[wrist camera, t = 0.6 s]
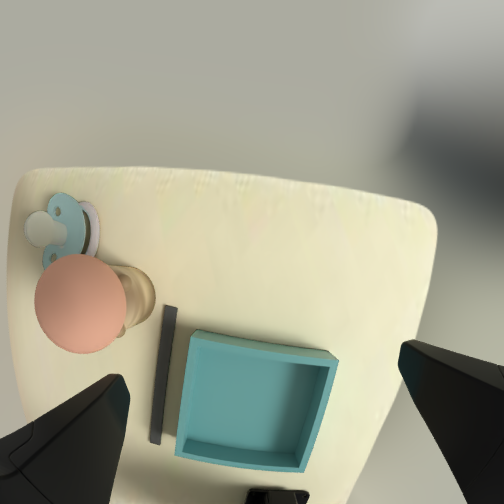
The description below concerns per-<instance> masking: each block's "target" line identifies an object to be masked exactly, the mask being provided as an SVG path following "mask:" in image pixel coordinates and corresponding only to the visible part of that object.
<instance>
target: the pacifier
mask: <svg viewBox="0 0 504 504" xmlns="http://www.w3.org/2000/svg"><path fill="white" fill-rule="evenodd" d="M57 207H59V208H60V210H61V214H60V216H57V215H56V212H55V211H56V208H57ZM82 211H85V212H86V213H87V215H88V217H89V220H90V226H91V237H90V243H89V246H88V249H87V252H86V254H85V255H89V256H92V257H94V256H95V254H96V251H97V248H98V244H99V237H100V225H99V218H98V215H97V212H96V210H95V208H94V206H93V205H92V204H91V203H89V202H86V201H83V202H80V203H78V202H77V201H76V200H75V199H74V198H72V197H71V196H69V195H67V194H65V193H57V194H55V195H54V196H53V197H52V198H51V199H50V201H49V204H48V209H47V212H45V211H36V212H33V213H32V214H30V215H29V216H28V218H27V219H26V221H25V224H24V234H25V237H26V239H27V240H28V242H29V243H30V244H31V245H33V246H35V247H39V248H42V247H46V248H45V251H44V254H43V267H44V270H45V269H46V268H47V267H48V266H49V265H50V264H51V263H53V262H51V257H52V255H53V254H56V255H57V258H56V260H57V259H59V258H61V257H64V256H67V255H71V254H81V252H82V249H83V245H84V241H85V230H86V228H85V219H84V215H83V212H82ZM56 260H55V261H56Z"/></svg>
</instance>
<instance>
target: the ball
mask: <svg viewBox="0 0 504 504" xmlns="http://www.w3.org/2000/svg"><path fill="white" fill-rule="evenodd" d="M35 312H36V316H37V319H38V322H39V324H40V326H41V328H42V330H43V331H44V333H45V334H46V336H47V337H48V338H49V339H50V340H51V341H52V342H53V343H55V344H56V345H57V346H59V347H60V348H62V349H64V350H66V351H69V352H73V353H78V354H88V353H94V352H96V351H99V350H102V349H103V348H105V347H107V346H108V345H109V344H110V343H112V342H113V341H114V339H115V338H116V337H117V336H118V334H119V333H120V331H121V329H122V327H123V324H124V321H125V317H126V296H125V292H124V289H123V286H122V284H121V282H120V280H119V278H118V277H117V275H116V274H115V273H114V271H113V270H112V269H111V268H110V267H109V266H108V265H107V264H105V263H104V262H103V261H101V260H99V259H97V258H95V257H92V256H89V255H85V254H71V255H67V256H64V257H61V258H59V259H57V260H56V261H54V262H53V263H51V264H50V265H49V266H48V267H47V268H46V269H45V271H44V272H43V274H42V275H41V277H40V279H39V281H38V284H37V287H36V291H35Z"/></svg>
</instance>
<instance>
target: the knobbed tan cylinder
mask: <svg viewBox="0 0 504 504" xmlns="http://www.w3.org/2000/svg"><path fill="white" fill-rule="evenodd" d="M108 266H109V267H110V268H111V269H112V270H113V271H114V273H115V274H116V275H117V277H118V278H119V280H120V282H121V284H122V286H123V289H124V292H125V296H126V317H125V321H124V324H123V327H122V329H121V331H120V333H119V334H118V336H117V337H116V338H120V337H122V336H123V335H124V334H125V331H126V329H128V328H130V327H133V326H135V325H137V324H139V323H141V322H143V321H145V320H146V319H147V318H148V317H149V316H150V314H151V313H152V311H153V309H154V306H155V299H156V297H155V290H154V286H153V284H152V282H151V280H150V279H149V277H148V276H147V275H146V274H145V273H144V272H142V271H141V270H139V269H137V268H134V267H125V266H114V265H108Z"/></svg>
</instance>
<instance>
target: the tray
mask: <svg viewBox="0 0 504 504" xmlns="http://www.w3.org/2000/svg"><path fill="white" fill-rule="evenodd" d="M338 362H339V360H338V359H337V358H336V357H335V356H333V355H332V354H331V353H330V352H329V351H325V350H316V349H308V348H301V347H293V346H287V345H280V344H273V343H267V342H261V341H255V340H249V339H244V338H238V337H233V336H228V335H223V334H217V333H213V332H208V331H203V330H198V329H197V330H196V331H195V332H194V333H193V335H192V336H191V338H190V344H189V350H188V357H187V363H186V370H185V377H184V384H183V391H182V398H181V406H180V413H179V421H178V429H177V438H176V447H175V456H179V457H183V458H188V459H192V460H197V461H202V462H207V463H212V464H218V465H224V466H231V467H238V468H246V469H254V470H265V471H278V472H300V473H304V471H305V468H306V466H307V463H308V460H309V457H310V455H311V452H312V449H313V446H314V443H315V440H316V438H317V435H318V432H319V428H320V425H321V422H322V419H323V416H324V413H325V409H326V406H327V403H328V399H329V396H330V392H331V389H332V385H333V381H334V378H335V374H336V370H337V366H338Z"/></svg>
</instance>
